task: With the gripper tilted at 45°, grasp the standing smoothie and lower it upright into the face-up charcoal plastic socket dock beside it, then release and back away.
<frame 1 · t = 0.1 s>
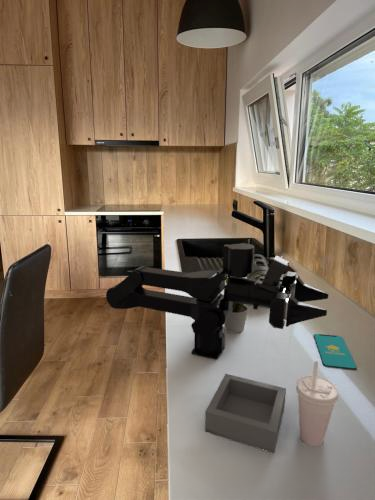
hand: (327, 303, 70), 17 cm above the worktop, tool horizontal, fingers open, 9 cm apart
house plant: (239, 329, 95), on the worktop
smartphone: (333, 352, 84), on the worktop
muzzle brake: (258, 291, 123), on the worktop
smoothie: (311, 438, 58), on the worktop
socket dock: (246, 418, 62), on the worktop
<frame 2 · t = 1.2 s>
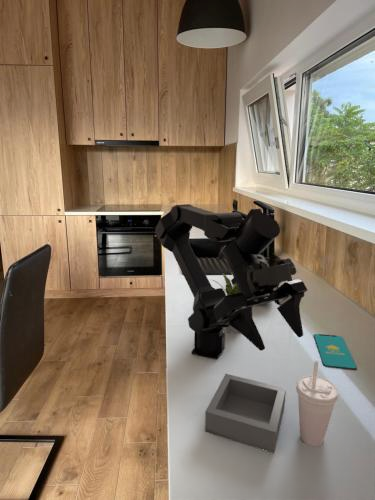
hand: (282, 342, 61), 14 cm above the worktop, tool tilted 45°, fingers open, 9 cm apart
nothing on the worktop moved.
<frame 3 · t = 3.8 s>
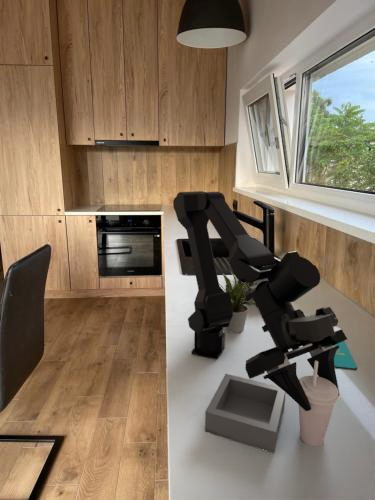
hand: (323, 403, 55), 8 cm above the worktop, tool tilted 45°, fingers closed on smoothie, 6 cm apart
smoothie: (311, 438, 58), on the worktop, touching gripper
everything else where it was.
when the fingers open (9 cm above the worktop, at t = 7.6 s): smoothie drops 1 cm, resting on socket dock.
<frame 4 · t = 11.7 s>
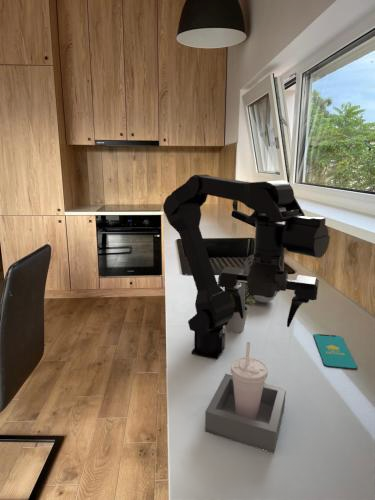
hand: (264, 322, 70), 13 cm above the worktop, tool pointing down, fingers open, 9 cm apart
smoothie: (246, 416, 62), resting on socket dock
everything else where it was.
at the end: smoothie 0.1 cm off-centre on the socket dock, point 0.4 cm above the socket dock's base; smoothie tilted 0°; the gripper is holding nothing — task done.
